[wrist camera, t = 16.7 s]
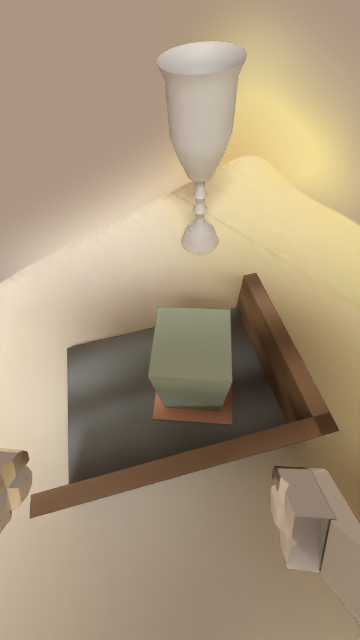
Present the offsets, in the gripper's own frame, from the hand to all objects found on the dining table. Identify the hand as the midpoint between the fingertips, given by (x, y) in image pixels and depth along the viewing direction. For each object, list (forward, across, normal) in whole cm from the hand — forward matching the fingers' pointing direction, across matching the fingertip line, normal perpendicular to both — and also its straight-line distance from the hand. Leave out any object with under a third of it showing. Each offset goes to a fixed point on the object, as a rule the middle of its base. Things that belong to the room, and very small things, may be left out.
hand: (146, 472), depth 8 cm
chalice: (+30, -2, -8) cm, 31 cm away
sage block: (+15, -1, +5) cm, 16 cm away
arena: (+15, +1, +6) cm, 16 cm away
